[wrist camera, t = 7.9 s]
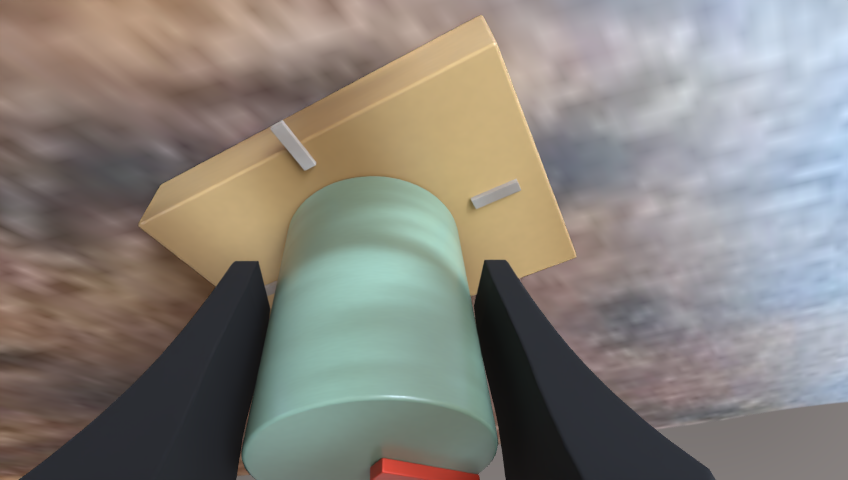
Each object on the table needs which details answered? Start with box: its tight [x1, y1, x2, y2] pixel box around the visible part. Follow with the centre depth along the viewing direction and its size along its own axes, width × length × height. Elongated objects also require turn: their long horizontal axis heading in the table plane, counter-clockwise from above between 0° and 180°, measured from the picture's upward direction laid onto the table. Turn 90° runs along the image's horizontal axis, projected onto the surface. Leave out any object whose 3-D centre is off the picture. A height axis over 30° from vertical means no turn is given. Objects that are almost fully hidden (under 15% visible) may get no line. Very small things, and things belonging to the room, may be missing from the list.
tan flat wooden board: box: [138, 15, 576, 318], centre depth 15 cm, size 11×9×2 cm
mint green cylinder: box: [242, 176, 498, 480], centre depth 12 cm, size 5×5×7 cm
